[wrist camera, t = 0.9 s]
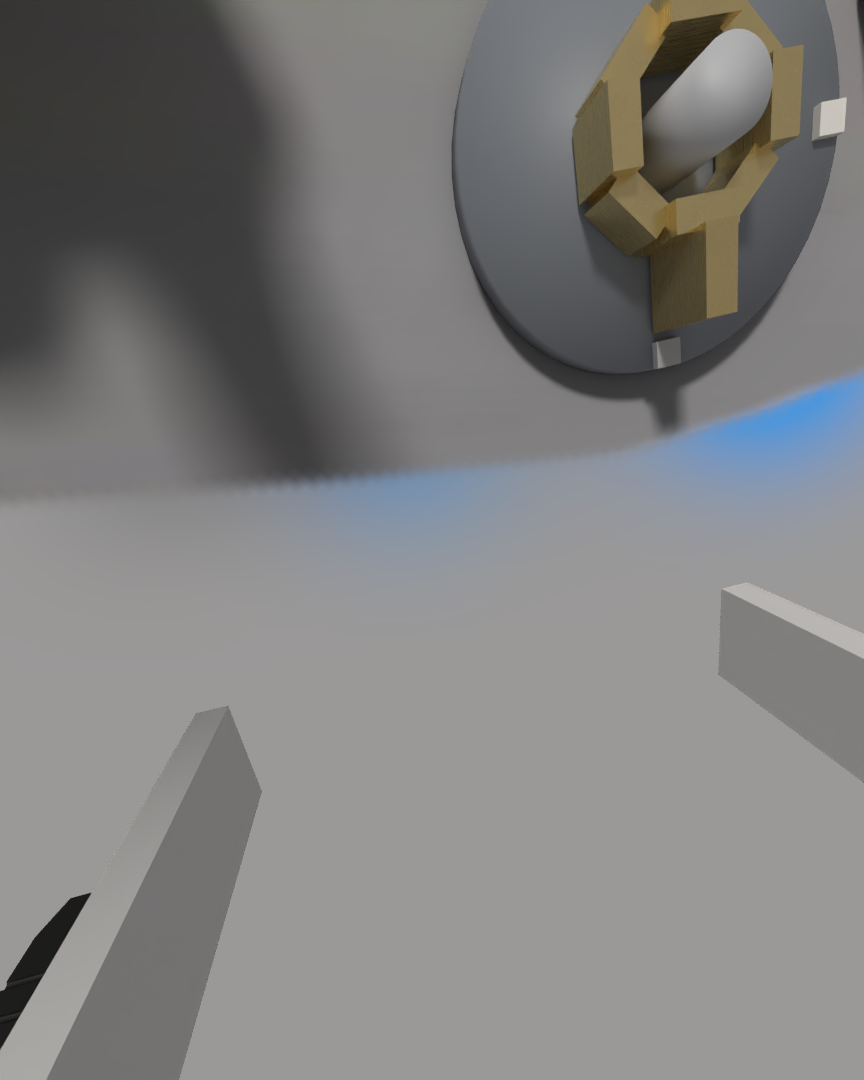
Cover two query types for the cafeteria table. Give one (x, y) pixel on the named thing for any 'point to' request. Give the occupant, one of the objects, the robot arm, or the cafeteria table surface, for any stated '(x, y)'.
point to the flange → (669, 167)
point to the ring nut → (712, 217)
